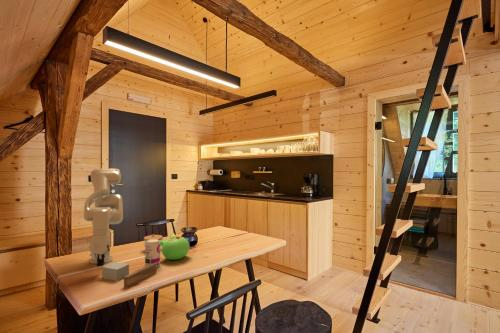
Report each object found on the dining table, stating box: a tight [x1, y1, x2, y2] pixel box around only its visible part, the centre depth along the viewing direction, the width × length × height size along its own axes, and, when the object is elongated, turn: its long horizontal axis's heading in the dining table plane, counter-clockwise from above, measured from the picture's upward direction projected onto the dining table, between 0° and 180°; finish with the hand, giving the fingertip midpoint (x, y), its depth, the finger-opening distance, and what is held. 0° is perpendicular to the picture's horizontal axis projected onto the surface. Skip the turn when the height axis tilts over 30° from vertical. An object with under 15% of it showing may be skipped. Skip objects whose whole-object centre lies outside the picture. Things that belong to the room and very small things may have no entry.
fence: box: [123, 263, 157, 289], centre depth 138 cm, size 2×20×5 cm, turn 159°
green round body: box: [160, 233, 191, 261], centre depth 170 cm, size 18×17×15 cm
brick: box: [101, 261, 130, 282], centre depth 142 cm, size 10×8×6 cm
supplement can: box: [144, 239, 161, 268], centre depth 157 cm, size 8×8×15 cm
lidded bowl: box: [143, 233, 164, 248], centre depth 188 cm, size 13×13×11 cm
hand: (100, 265), depth 146 cm, fingers closed
